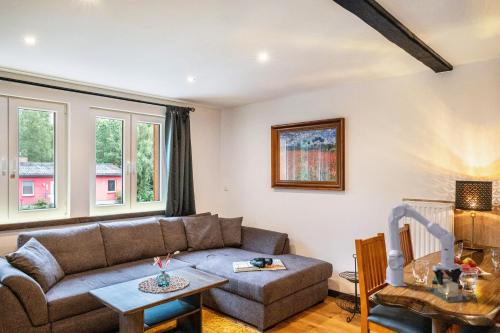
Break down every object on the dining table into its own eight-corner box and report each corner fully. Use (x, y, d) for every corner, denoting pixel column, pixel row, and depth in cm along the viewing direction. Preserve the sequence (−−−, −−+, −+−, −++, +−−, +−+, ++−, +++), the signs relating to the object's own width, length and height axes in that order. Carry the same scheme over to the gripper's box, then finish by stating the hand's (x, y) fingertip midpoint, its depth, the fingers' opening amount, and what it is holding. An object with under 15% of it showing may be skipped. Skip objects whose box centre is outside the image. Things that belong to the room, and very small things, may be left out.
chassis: (426, 290, 177) (426, 283, 177) (447, 289, 179) (447, 282, 179) (447, 302, 161) (447, 295, 161) (470, 301, 163) (470, 293, 163)
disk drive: (465, 285, 186) (435, 279, 195) (465, 280, 186) (435, 275, 195) (463, 291, 178) (431, 285, 187) (463, 285, 178) (432, 279, 187)
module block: (437, 291, 173) (437, 279, 173) (446, 290, 174) (446, 278, 174) (448, 296, 165) (448, 284, 165) (458, 296, 166) (458, 284, 166)
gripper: (439, 259, 165) (439, 287, 165) (466, 258, 167) (466, 286, 167) (430, 256, 172) (430, 282, 172) (456, 255, 174) (456, 281, 174)
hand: (447, 284), depth 170 cm, fingers open, 7 cm apart
